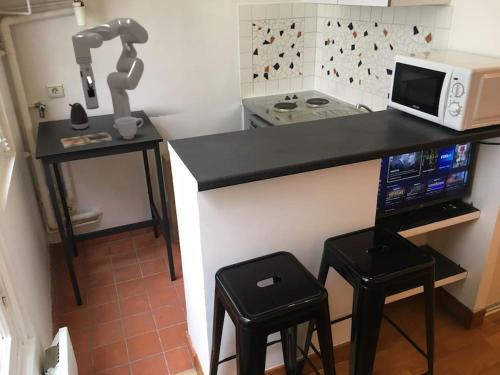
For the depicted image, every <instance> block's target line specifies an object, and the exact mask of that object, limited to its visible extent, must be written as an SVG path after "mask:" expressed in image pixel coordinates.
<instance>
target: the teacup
mask: <svg viewBox="0 0 500 375" xmlns="http://www.w3.org/2000/svg"><path fill="white" fill-rule="evenodd" d="M139 120H140V121H139ZM115 122H116V123H115ZM139 122H140V124H139V125H137V124H138V123H139ZM114 123H115V124H117V126H118V129H117V130H118V133H119V135H120V136H122V137H123V139H124V140H130V139H134V138H135V135H136V134H137V132H138V128H140V127H141V126H143V124H144V120H143V118H141V117H138V119H137V117H134V116H131V117H123V118H119V119H116V120H115V119H114Z"/></svg>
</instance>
